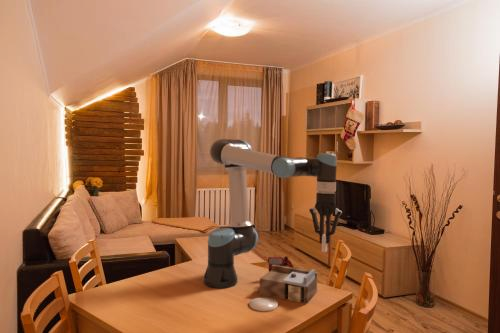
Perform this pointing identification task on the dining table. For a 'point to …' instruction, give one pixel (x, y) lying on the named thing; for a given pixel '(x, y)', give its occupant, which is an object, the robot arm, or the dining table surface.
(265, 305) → the dish
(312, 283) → the wooden frame
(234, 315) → the dining table surface
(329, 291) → the dining table surface
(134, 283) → the dining table surface
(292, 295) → the block
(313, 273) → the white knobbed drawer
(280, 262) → the toy fire truck
